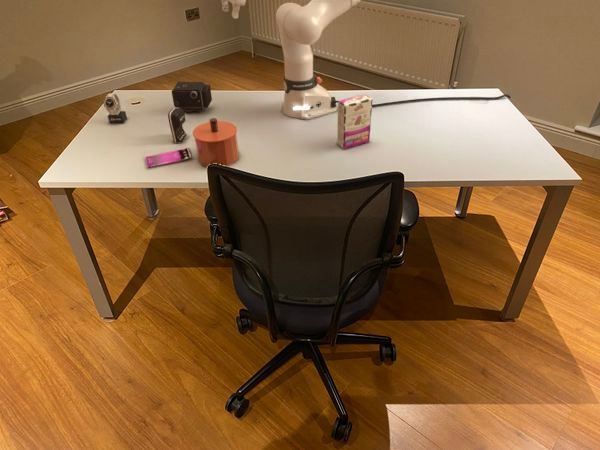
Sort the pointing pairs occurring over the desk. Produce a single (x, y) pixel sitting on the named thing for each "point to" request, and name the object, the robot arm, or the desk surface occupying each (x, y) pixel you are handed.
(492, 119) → the desk surface
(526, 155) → the desk surface
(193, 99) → the camera
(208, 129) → the lid
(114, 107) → the watch
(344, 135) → the candy bar box
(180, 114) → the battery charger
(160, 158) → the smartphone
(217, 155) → the pot
